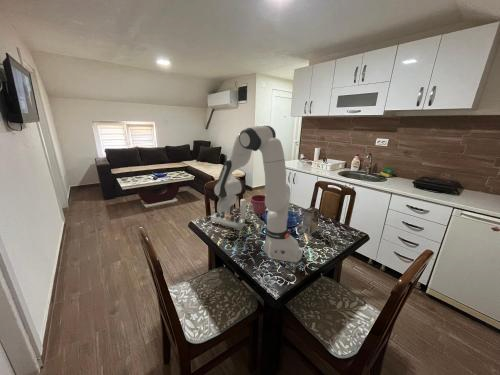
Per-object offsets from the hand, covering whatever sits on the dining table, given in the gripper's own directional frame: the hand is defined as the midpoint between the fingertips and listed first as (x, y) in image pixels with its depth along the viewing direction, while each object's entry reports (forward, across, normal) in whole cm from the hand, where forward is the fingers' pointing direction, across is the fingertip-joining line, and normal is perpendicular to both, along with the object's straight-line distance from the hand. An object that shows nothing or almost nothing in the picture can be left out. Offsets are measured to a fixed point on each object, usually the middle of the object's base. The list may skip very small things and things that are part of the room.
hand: (227, 213), depth 148 cm
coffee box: (+9, +16, -55) cm, 58 cm away
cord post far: (+9, +11, +7) cm, 16 cm away
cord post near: (+9, +11, -7) cm, 16 cm away
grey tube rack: (+9, 0, 0) cm, 9 cm away
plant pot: (+9, +28, -13) cm, 32 cm away
